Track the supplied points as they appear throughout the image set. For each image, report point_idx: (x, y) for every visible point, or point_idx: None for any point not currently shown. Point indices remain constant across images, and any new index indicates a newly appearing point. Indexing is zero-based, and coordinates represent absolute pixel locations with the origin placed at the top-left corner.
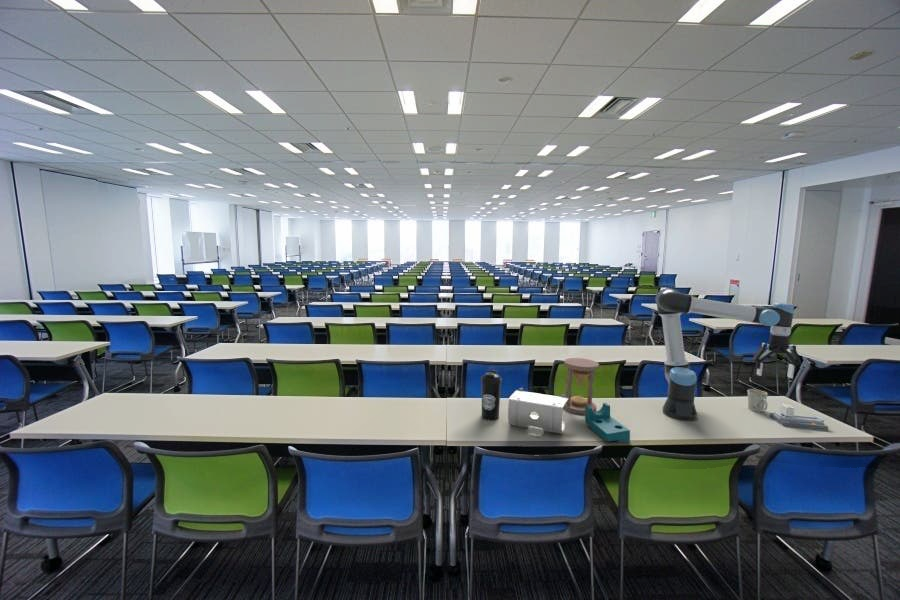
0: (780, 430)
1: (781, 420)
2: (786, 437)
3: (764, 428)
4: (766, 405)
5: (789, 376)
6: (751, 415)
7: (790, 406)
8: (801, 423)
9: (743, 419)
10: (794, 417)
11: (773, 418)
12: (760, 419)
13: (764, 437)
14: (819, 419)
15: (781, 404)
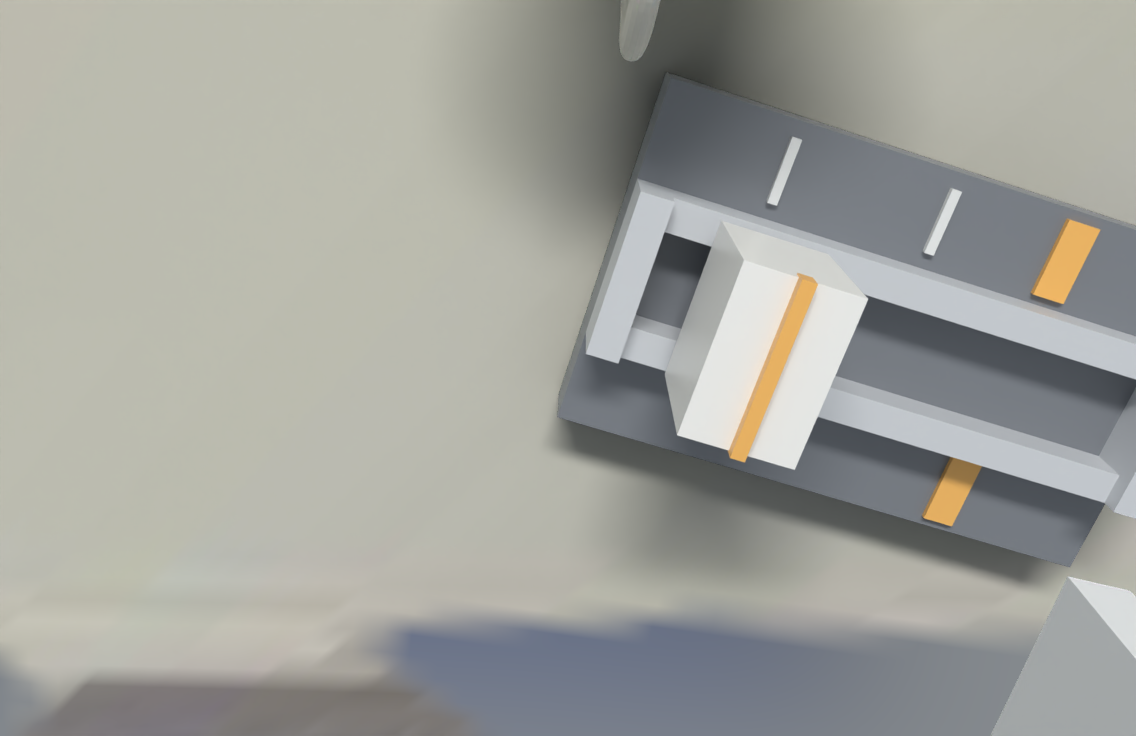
0: (394, 515)
1: (575, 372)
2: (303, 675)
3: (220, 459)
4: (622, 50)
5: (1035, 713)
6: (384, 16)
7: (796, 398)
8: (784, 471)
9: (127, 172)
10: None
11: (631, 176)
12: (408, 177)
13: (31, 668)
14: (1126, 465)
15: (734, 280)
